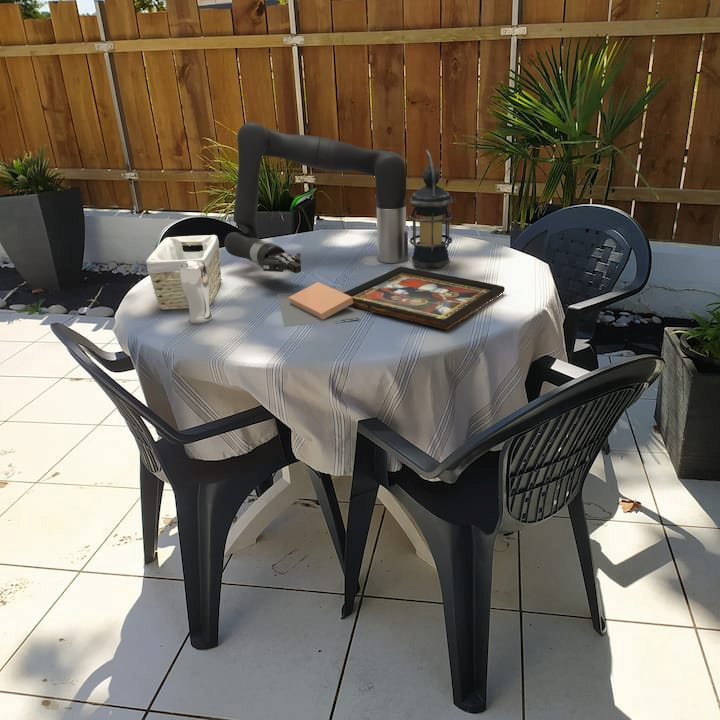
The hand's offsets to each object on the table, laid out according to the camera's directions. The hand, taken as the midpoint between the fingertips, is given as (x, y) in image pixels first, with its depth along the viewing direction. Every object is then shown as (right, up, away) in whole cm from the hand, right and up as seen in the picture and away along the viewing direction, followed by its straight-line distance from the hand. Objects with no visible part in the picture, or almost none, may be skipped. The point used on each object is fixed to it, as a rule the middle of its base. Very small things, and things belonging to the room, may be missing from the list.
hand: (298, 269), depth 179 cm
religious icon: (+33, -8, -1) cm, 34 cm away
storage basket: (-32, -7, +10) cm, 34 cm away
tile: (+2, -6, +1) cm, 7 cm away
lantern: (+39, +5, +26) cm, 47 cm away
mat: (+5, -11, -3) cm, 12 cm away
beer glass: (-25, -14, -7) cm, 30 cm away
